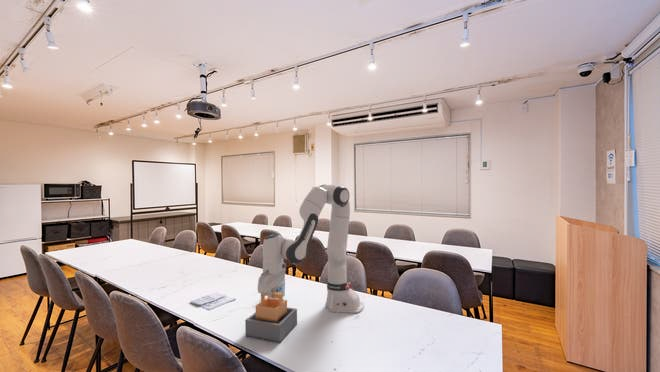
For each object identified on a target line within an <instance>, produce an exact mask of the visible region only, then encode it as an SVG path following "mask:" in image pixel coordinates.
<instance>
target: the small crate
mask: <svg viewBox="0 0 660 372" xmlns="http://www.w3.org/2000/svg"><path fill="white" fill-rule="evenodd" d="M271 293H273V294H272V297H278V298H279V299H277V298H268V294H267V292H266V293H265V294H262V293H260V302H259V303H258V304H256V305H255V312H256V319H261V320H267V321H273V322H277V321H278V320H279V319H280V318H281V317H282V316H283V315H284V314H285V313H286V312H287V307H288V299H284V297H283V293H277V292H271Z"/></svg>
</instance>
